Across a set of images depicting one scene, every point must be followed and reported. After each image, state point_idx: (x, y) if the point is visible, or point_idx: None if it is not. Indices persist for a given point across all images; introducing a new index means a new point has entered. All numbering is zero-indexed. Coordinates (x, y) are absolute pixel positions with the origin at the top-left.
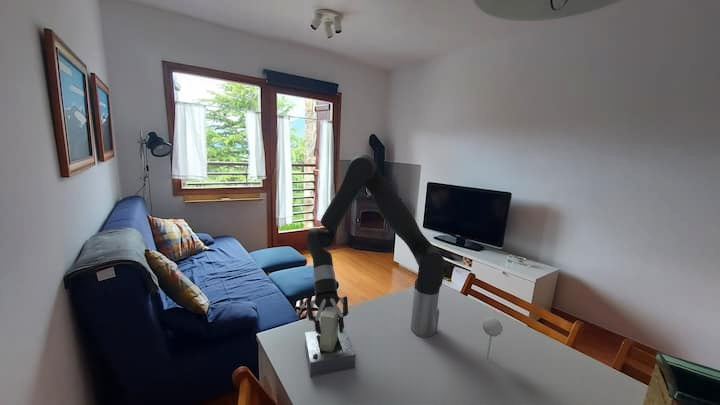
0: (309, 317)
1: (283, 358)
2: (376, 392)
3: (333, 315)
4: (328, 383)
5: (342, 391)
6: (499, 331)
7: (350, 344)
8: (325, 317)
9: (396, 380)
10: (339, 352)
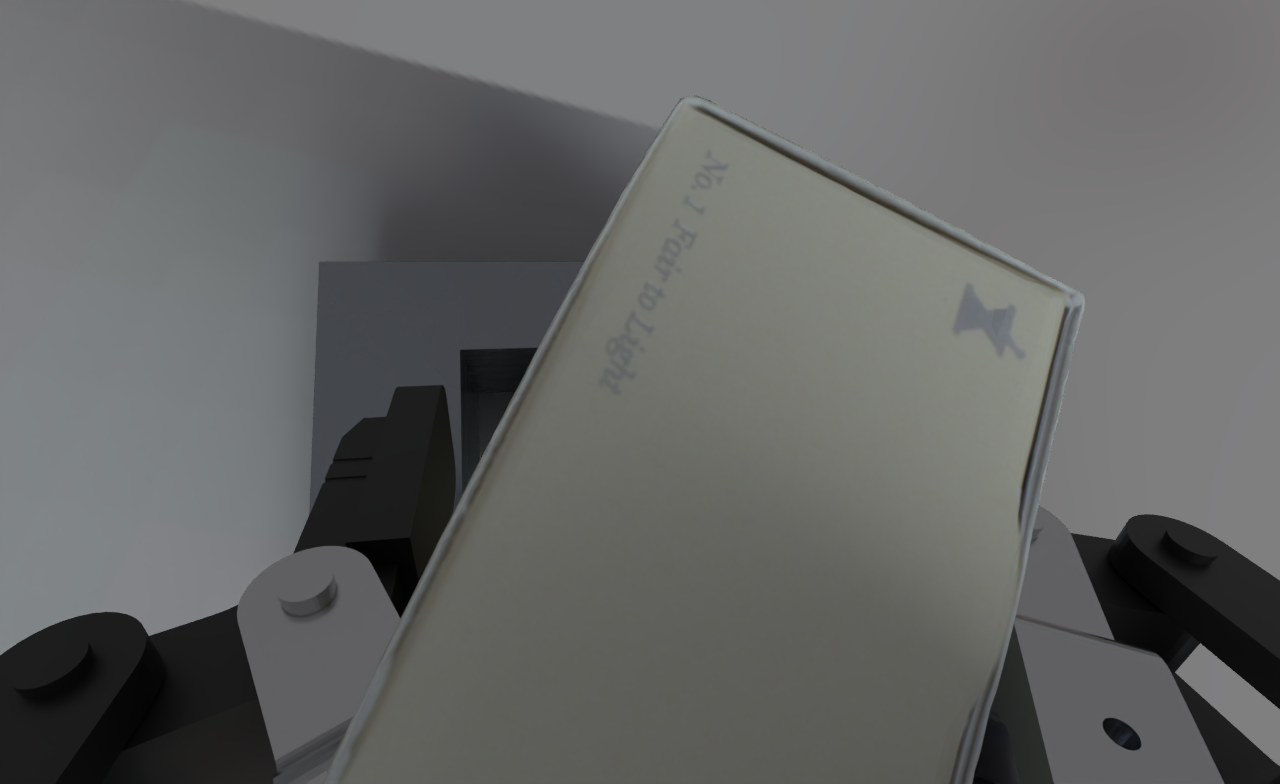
0: (1222, 548)
1: None
2: (275, 71)
3: (659, 228)
4: None
5: (534, 146)
6: None
7: (330, 435)
8: (918, 224)
9: (33, 119)
10: (506, 329)
